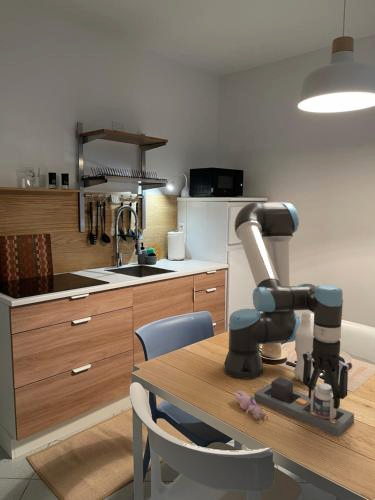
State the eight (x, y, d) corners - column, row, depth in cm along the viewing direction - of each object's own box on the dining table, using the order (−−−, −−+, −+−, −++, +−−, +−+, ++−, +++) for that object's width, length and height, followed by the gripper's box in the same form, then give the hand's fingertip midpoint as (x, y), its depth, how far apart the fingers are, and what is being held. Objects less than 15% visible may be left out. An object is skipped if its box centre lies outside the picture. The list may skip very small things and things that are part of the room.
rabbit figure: (271, 423, 115) (242, 394, 127) (274, 406, 113) (244, 378, 126) (254, 429, 112) (226, 398, 124) (257, 411, 110) (228, 382, 123)
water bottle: (314, 376, 142) (316, 311, 139) (314, 385, 136) (316, 316, 133) (294, 373, 145) (296, 309, 142) (293, 382, 138) (295, 314, 135)
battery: (345, 389, 133) (347, 357, 131) (336, 391, 131) (338, 359, 130) (331, 380, 139) (333, 350, 138) (323, 382, 138) (324, 352, 136)
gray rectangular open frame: (253, 400, 125) (254, 379, 124) (272, 388, 133) (273, 369, 132) (337, 437, 106) (338, 413, 105) (353, 421, 113) (355, 399, 112)
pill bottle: (311, 409, 117) (312, 382, 115) (327, 409, 117) (328, 381, 116) (318, 419, 111) (319, 390, 110) (335, 418, 112) (337, 390, 111)
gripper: (291, 333, 115) (289, 406, 118) (353, 350, 102) (348, 431, 105) (304, 328, 120) (301, 397, 123) (364, 343, 107) (359, 420, 110)
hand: (323, 413), depth 114 cm, fingers closed on pill bottle, 5 cm apart
